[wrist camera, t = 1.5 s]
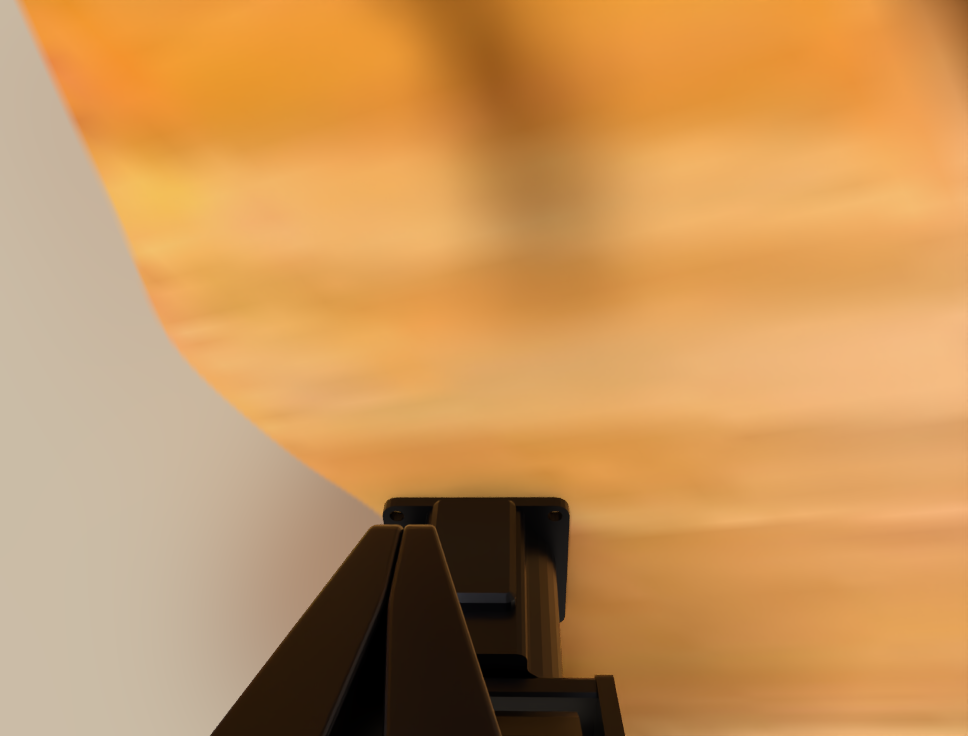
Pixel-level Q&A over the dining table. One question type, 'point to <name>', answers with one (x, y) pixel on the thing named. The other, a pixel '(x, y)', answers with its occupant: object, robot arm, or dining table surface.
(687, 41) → the dining table surface
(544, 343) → the dining table surface
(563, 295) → the dining table surface
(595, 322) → the dining table surface
